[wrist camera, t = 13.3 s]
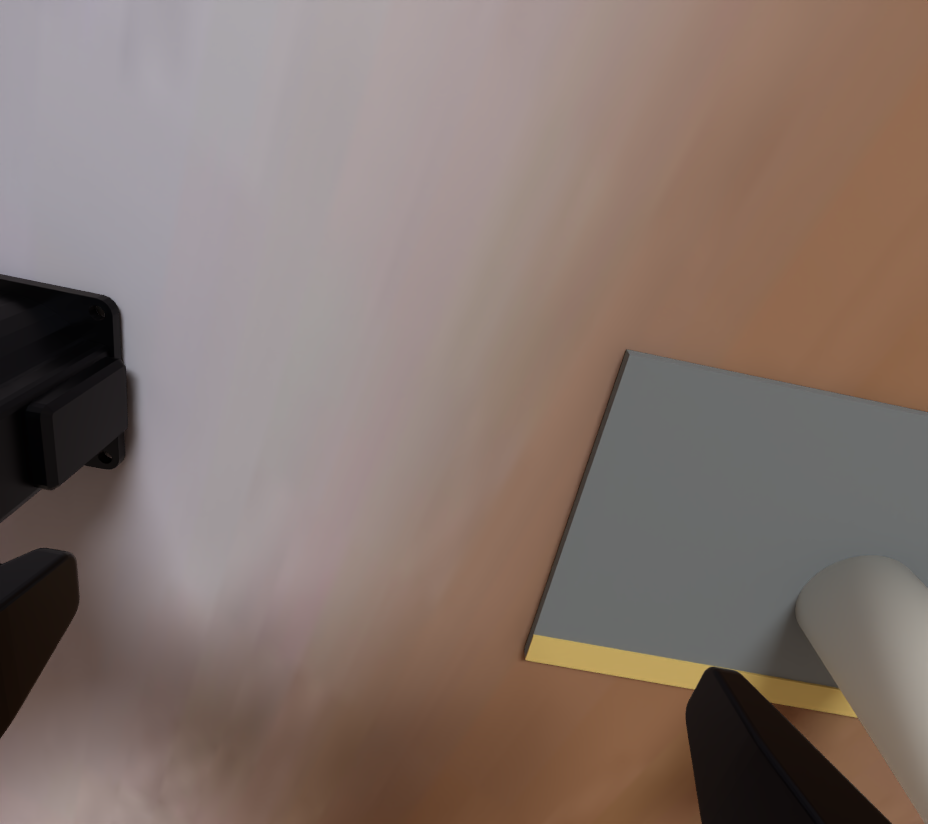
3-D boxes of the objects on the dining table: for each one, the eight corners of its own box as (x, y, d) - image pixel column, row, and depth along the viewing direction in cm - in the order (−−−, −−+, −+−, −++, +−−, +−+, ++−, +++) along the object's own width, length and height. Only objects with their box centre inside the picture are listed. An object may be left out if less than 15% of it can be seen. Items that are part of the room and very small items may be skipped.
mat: (524, 649, 26) (525, 660, 26) (626, 349, 20) (630, 355, 20) (911, 716, 27) (920, 728, 27) (1114, 451, 21) (1131, 459, 21)
